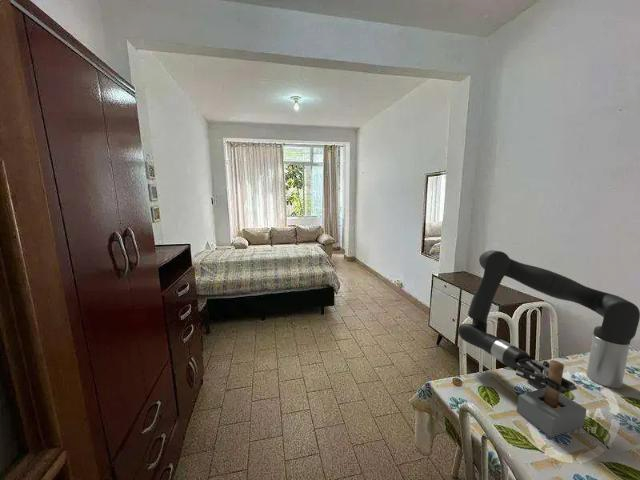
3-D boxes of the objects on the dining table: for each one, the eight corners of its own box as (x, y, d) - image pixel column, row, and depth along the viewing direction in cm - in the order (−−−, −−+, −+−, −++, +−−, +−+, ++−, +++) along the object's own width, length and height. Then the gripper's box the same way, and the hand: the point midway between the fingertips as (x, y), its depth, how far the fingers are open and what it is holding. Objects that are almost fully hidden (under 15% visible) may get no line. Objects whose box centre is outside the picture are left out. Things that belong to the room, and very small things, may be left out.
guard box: (547, 402, 89) (549, 386, 88) (583, 426, 80) (586, 408, 79) (516, 411, 85) (518, 395, 84) (550, 437, 76) (553, 419, 75)
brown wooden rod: (548, 399, 84) (554, 359, 82) (559, 406, 81) (566, 365, 79) (541, 401, 83) (547, 361, 81) (552, 409, 80) (559, 367, 78)
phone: (525, 380, 99) (552, 372, 104) (525, 382, 99) (552, 374, 104) (549, 394, 92) (576, 385, 96) (549, 397, 92) (576, 387, 97)
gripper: (495, 348, 92) (550, 380, 75) (525, 342, 96) (583, 372, 79) (493, 367, 93) (546, 403, 76) (522, 361, 97) (579, 394, 80)
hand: (564, 387), depth 78 cm, fingers closed on brown wooden rod, 3 cm apart
